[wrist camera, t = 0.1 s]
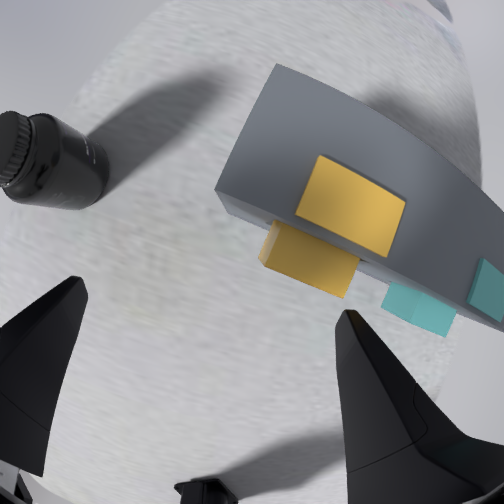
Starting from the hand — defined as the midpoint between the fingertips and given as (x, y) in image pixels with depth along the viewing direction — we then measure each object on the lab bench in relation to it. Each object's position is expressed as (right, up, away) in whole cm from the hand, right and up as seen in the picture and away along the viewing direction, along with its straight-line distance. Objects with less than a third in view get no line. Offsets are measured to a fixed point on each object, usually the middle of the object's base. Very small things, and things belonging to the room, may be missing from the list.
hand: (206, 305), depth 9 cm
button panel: (+10, +3, +15) cm, 18 cm away
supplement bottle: (-15, +9, +14) cm, 22 cm away
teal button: (+13, -1, +10) cm, 17 cm away
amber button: (+4, +2, +7) cm, 9 cm away
